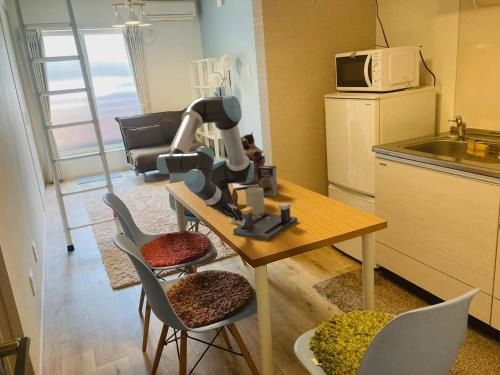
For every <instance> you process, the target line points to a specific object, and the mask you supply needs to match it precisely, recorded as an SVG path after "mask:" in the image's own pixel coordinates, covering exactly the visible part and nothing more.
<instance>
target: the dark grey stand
mask: <svg viewBox="0 0 500 375" xmlns="http://www.w3.org/2000/svg"><path fill="white" fill-rule="evenodd" d="M291 204H292V203H290V202H283V203H281V204H279V205H278V209H279V210H280V214H278V213H272V212H266V211H265V212H263V213H261V214H257V215H256V216H254V217H253V226H252V227H250V228H248V229H244V226H241V225H240V224H239V225H238V226H237V227H235V228H233V229H232V231H233V234H234V235H238V236H242V237H248V238H252V239H257V240H263V241H266V242H270V241H271V240H272V239H274V238H276V237H277V236H279V235H280V234H281V233H283V232H284V231H286V230H287V229H289V228H291V226H293V225H295V224H296V223H297V222H298V217H296V216H291V209H290V208H291V207H292V205H291Z"/></svg>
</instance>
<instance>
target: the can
mask: <svg viewBox="0 0 500 375" xmlns="http://www.w3.org/2000/svg"><path fill="white" fill-rule="evenodd" d="M244 193H245V203H246V204H245V205H246V207H252V208H253V212H252V215H253V216H254V215H256V216H257V215H259V214H261V213H263V212H266V209H265V199H264V198H265V196H264V195H263V188H261V187H259V186H258V187H246V189H245V190H244Z"/></svg>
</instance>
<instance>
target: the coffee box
mask: <svg viewBox="0 0 500 375" xmlns="http://www.w3.org/2000/svg"><path fill="white" fill-rule="evenodd" d="M277 181H278V180H277V165H264V166H260V167H258V182H259V186H258V187H261V188H263V195H264V197H265V196H267V197H274V196H276V195H277V194H278V182H277Z"/></svg>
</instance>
